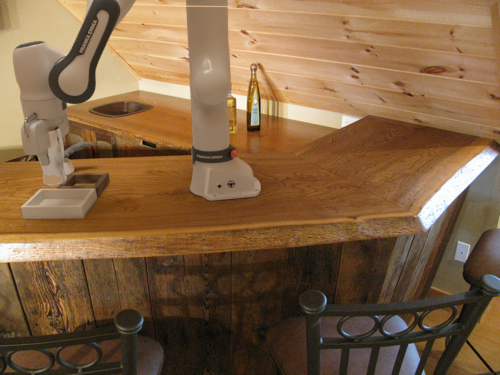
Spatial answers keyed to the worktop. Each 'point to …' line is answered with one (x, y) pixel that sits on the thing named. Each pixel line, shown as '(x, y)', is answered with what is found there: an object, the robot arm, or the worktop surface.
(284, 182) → the worktop surface
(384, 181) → the worktop surface
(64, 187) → the walnut collar
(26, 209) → the cream white tray
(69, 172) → the inkwell
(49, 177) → the beer glass
